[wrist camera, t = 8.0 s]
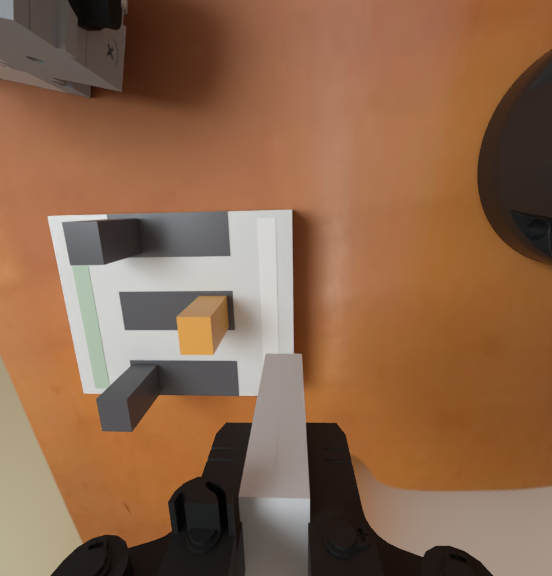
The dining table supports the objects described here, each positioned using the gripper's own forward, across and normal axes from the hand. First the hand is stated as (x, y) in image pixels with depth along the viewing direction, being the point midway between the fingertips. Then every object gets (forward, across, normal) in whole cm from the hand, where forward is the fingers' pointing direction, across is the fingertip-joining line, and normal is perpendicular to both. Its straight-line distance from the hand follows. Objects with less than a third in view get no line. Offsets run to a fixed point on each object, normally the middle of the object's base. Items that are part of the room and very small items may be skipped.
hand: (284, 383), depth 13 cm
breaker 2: (+10, +11, +6) cm, 16 cm away
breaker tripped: (+9, +5, 0) cm, 11 cm away
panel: (+13, +8, 0) cm, 15 cm away
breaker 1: (+10, +11, -5) cm, 16 cm away
